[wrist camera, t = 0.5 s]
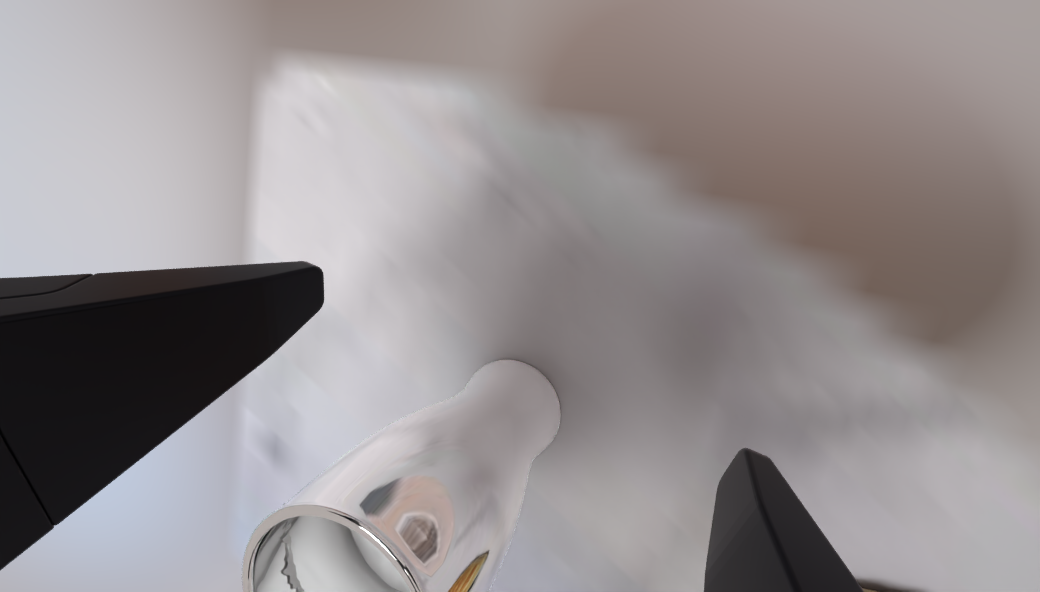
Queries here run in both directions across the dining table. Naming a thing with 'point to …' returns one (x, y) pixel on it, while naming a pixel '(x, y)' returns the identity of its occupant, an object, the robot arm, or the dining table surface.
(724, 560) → the robot arm
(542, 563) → the dining table surface
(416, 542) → the beer glass
